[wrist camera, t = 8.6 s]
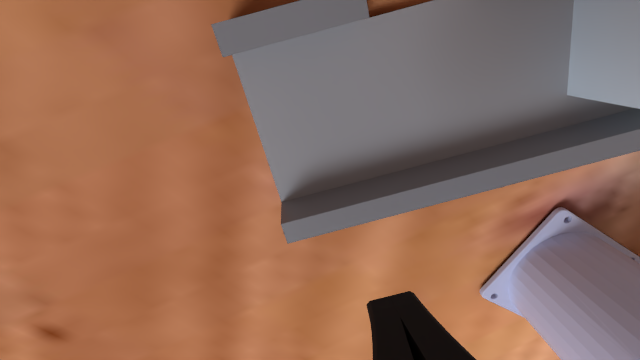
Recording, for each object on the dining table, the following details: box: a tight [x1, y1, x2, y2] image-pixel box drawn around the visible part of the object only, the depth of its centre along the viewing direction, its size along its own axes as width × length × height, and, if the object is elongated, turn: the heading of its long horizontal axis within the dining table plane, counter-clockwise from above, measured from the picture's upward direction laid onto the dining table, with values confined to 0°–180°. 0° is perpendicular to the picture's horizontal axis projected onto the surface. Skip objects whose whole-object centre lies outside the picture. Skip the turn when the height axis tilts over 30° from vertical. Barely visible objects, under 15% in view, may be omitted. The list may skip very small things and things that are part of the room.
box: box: [211, 0, 640, 243], centre depth 15 cm, size 23×14×3 cm, turn 104°
